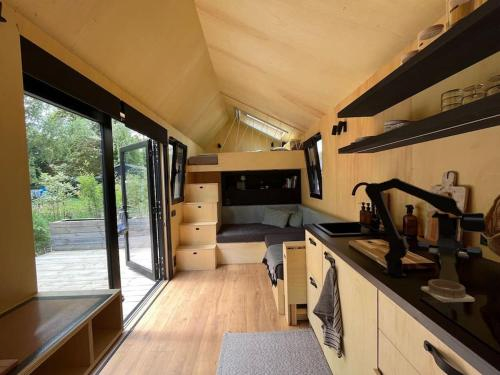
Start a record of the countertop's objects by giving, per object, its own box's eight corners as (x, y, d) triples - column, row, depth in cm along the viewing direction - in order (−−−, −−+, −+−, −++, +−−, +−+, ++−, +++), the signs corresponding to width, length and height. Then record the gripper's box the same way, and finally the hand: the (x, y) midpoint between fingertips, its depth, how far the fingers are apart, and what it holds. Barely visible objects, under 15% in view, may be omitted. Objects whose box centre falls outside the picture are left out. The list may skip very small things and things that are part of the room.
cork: (434, 280, 96) (433, 251, 96) (449, 279, 96) (448, 250, 96) (448, 286, 90) (447, 256, 90) (464, 285, 90) (463, 255, 90)
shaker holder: (421, 289, 89) (421, 279, 89) (449, 288, 89) (449, 278, 89) (442, 302, 79) (442, 291, 79) (474, 301, 79) (474, 290, 79)
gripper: (413, 231, 93) (415, 273, 93) (482, 237, 81) (483, 285, 81) (418, 226, 101) (420, 265, 102) (481, 231, 89) (482, 275, 89)
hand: (448, 272), depth 93 cm, fingers closed on cork, 4 cm apart
